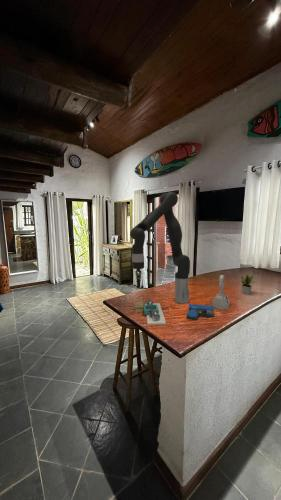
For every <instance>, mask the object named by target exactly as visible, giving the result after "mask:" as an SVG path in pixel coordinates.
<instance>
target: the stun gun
mask: <svg viewBox="0 0 281 500" xmlns="http://www.w3.org/2000/svg"><path fill="white" fill-rule="evenodd" d="M199 317H203V318H204V317H206V318H210V317H212V318H213V317H215V312H214V306H213V305H206V304H195V303H188V312H187V313H186V319H187V320H192V321H198V318H199Z"/></svg>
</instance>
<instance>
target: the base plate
mask: <svg viewBox="0 0 281 500" xmlns="http://www.w3.org/2000/svg"><path fill="white" fill-rule="evenodd" d="M144 305H147V303H144ZM153 305H157V306H158V310H159V315H160V320H158V321H153V320H152V317H151V318H150V317H149V315H145V316H146V322H147V326H155V325H156V326H158V325H166V324H167V323H166V319H165V316H164V312H163V310H162V306H161V304H160V302H154V303H153Z"/></svg>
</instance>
